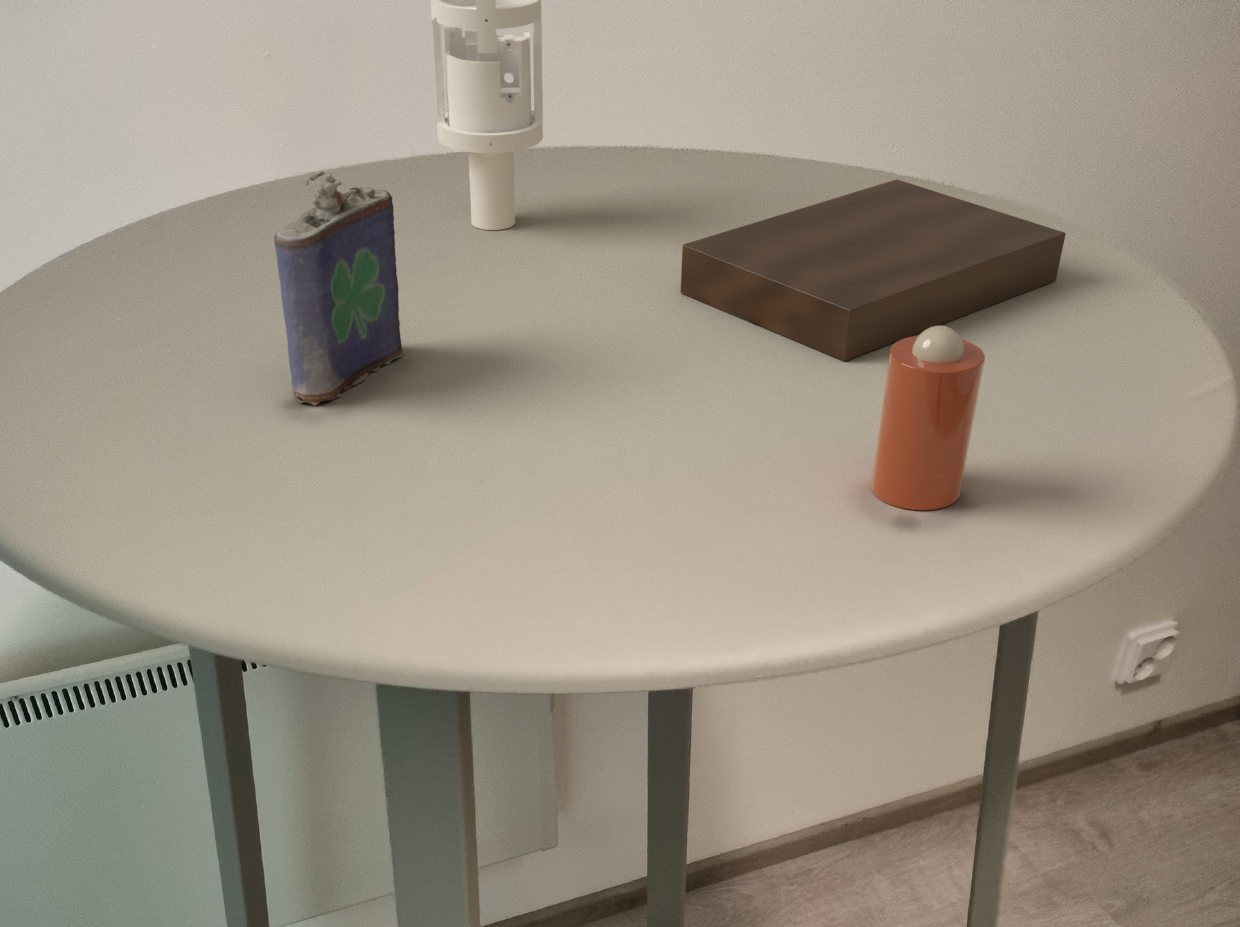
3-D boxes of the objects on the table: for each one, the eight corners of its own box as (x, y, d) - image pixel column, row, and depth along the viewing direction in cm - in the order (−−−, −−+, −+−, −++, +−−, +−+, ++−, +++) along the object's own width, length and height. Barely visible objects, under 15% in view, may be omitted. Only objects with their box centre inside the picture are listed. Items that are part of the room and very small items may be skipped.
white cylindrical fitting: (441, 241, 102) (427, -11, 92) (443, 207, 108) (430, -35, 98) (545, 239, 103) (542, -12, 93) (542, 205, 108) (539, -37, 98)
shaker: (978, 492, 75) (1009, 330, 70) (920, 519, 73) (948, 354, 68) (910, 461, 78) (935, 302, 72) (852, 487, 76) (874, 325, 70)
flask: (320, 410, 82) (296, 204, 75) (277, 399, 83) (249, 195, 76) (413, 351, 88) (399, 155, 81) (372, 342, 90) (354, 148, 82)
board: (1056, 281, 97) (1066, 232, 95) (844, 362, 87) (850, 310, 85) (890, 224, 105) (896, 179, 103) (679, 293, 95) (682, 244, 93)
